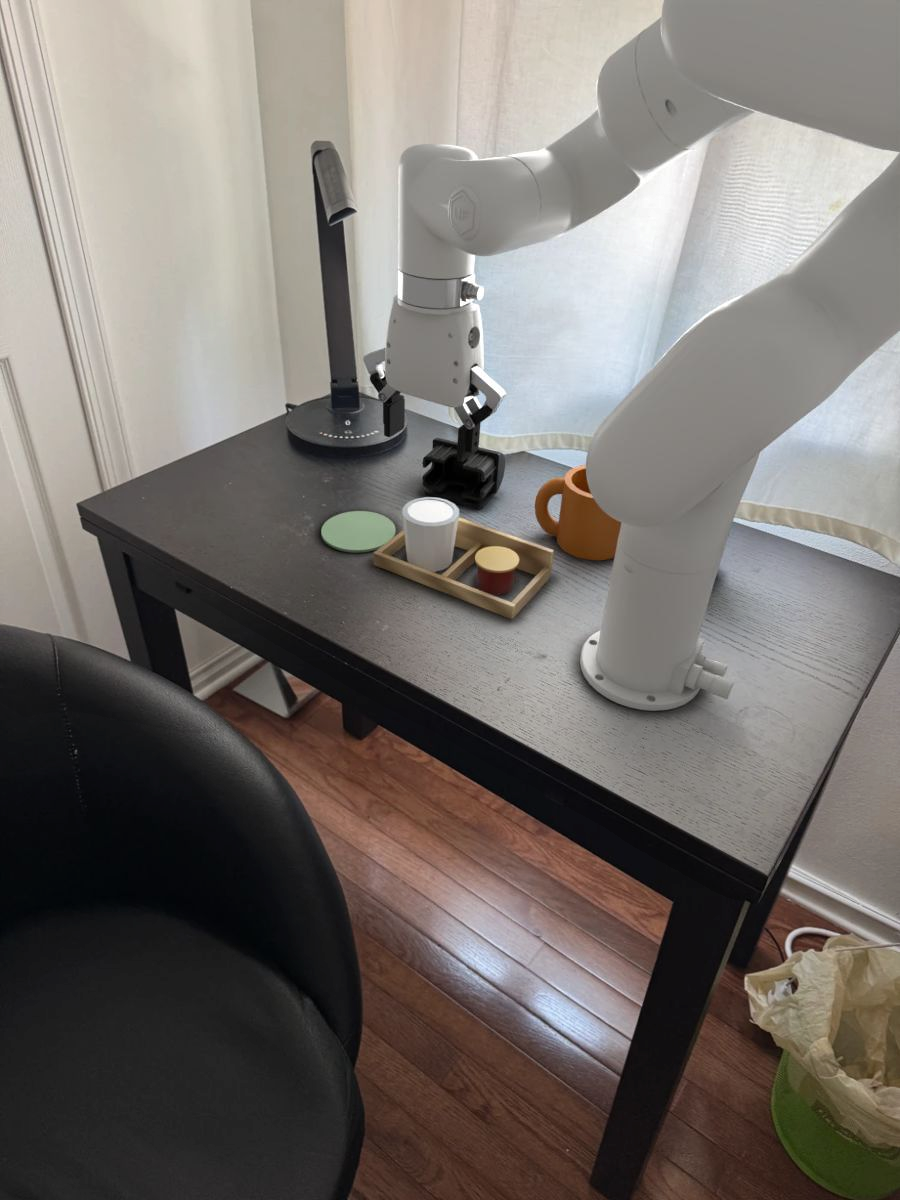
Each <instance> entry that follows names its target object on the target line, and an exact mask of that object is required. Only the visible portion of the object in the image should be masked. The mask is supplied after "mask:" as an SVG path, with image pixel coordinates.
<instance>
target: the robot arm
mask: <svg viewBox="0 0 900 1200" xmlns="http://www.w3.org/2000/svg"><path fill="white" fill-rule="evenodd" d="M595 88H596V89H595V97H596V105H597V107H596V109H595V110H594V111H593V112H592V113H591V114H590V115H589V116H587V117H585V119H584V120H582V121H581V122H579V124H577V125H576V126H575V127H573V128H571V129H570V130H569V131H568V132H566V133H565V134H563V135H562V136H560V137H559V138H557V139H556V140H554V141H553V142H552V143H550V144H549V145H547V146H545V147H543V148H542V149H539V150H537V151H527V152H520V153H519V152H518V153H515V154H507V155H501V156H497V157H489V158H488V157H487V158H480V159H479V158H478V155H477V154H476V153H475V152H474V151H472V150H470V149H469V148H466V147H463V146H459V145H453V144H445V143H422V144H414V145H411V146H409V147H407V148H405V150H403V151H402V153H401V155H400V157H399V160H398V161H399V162H398V175H397V176H398V177H397V178H398V182H397V183H398V184H397V185H398V188H397V189H398V190H397V192H398V196H397V200H398V202H397V218H398V219H397V293H396V294H395V295H394V296H393V298H392V302H391V306H390V310H389V315H388V321H387V329H386V338H385V347H383V348H380V349H377V350H375V351H374V350H373V351H371V352H369V353H367V354H365V355H364V356H363V359H362V360H363V363H364V365H365V368H366V370H367V373H368V374H369V381H370V383H371V384H372V386H373V387H374V389H375V390H376V392H377V398H378V400H379V401H380V402H381V403H382V424H383V436H384V437H387V438H391V437H394V436H395V435H396V434H398V433H399V432H401V431H403V430H404V429H405V421H406V420H405V417H406V416H405V411H406V409H405V408H406V399H405V395H408V396H411V397H414V398H416V399H417V398H418V399H421V400H425V401H427V402H431V403H433V404H438V405H441V406H445V407H448V408H453V409H454V411H455V413H456V415H457V416H458V418H459V420H460V421H461V423H462V425H461V426H459V427H458V429H457V442H458V444H457V459H458V460H459V461H462V462H463V461H465V460H466V459H467V458H469V457H470V456H471V455H473V454H474V453H475V452H476V451H477V450H478V447H480V437H481V436H480V435H481V423H483V421H485V420H486V419H488V418H490V416H492V415H493V414H494V413H496V412H497V410H498V408H499V407H500V406H501V404H502V402H504V400H505V398H506V395H507V392H506V391H505V389H504V388H503V387H502V386H501V385H499V384H498V383H497V382H496V381H495V380H493V379H492V378H491V377H490V376H489V375H488V374H487V373H486V372H484V371H485V369H484V367H485V365H484V364H485V361H484V360H485V359H484V358H485V356H484V355H485V353H484V352H485V351H484V350H485V349H484V329H483V322H482V314H481V309H480V305H479V304H477V303H474V302H473V301H474V300H475V301H481V300H482V299H483V297H484V293H485V289H484V287H483V286H482V285H478V284H477V283H476V274H475V263H476V262H475V261H476V256H477V257H491V256H497V255H500V254H501V255H502V254H504V253H507V252H512V251H515V250H518V249H521V248H524V247H528V246H533V245H536V244H539V243H545V242H548V241H553V240H554V239H557V238H560V237H562V236H563V235H566V234H567V233H569V232H571V231H573V230H575V229H577V228H578V227H580V226H582V225H583V224H585V223H587V222H589V221H590V220H592V219H594V218H595V217H598V215H600V214H602V213H604V212H606V211H607V210H609V209H610V208H612V207H614V206H615V205H617V204H619V203H620V202H621V201H623V200H624V199H626V198H627V197H628V196H630V195H632V194H633V193H635V191H637V190H638V189H639V188H640V187H642V186H643V185H644V184H645V183H647V182H648V181H650V180H652V179H653V177H654V176H656V174H657V173H658V172H659V171H660V170H662V169H664V168H665V167H666V166H668V165H670V164H671V163H673V162H675V161H676V160H677V159H679V158H682V156H685V155H686V154H688V153H689V152H691V151H693V150H694V149H696V148H698V147H700V146H701V145H702V144H704V143H706V142H708V141H709V140H711V139H712V138H714V137H716V136H717V135H719V134H720V133H722V132H725V130H727V129H729V128H731V127H733V126H734V125H735V124H737V123H739V122H740V121H742V120H744V119H746V118H748V117H749V116H751V115H753V114H755V113H757V114H761V115H765V116H768V117H771V118H774V119H777V120H781V121H785V122H788V123H791V124H795V125H798V126H801V127H804V128H807V129H810V130H813V131H816V132H820V133H822V134H826V135H829V136H831V137H836V138H839V139H842V140H845V141H848V142H851V143H855V144H858V145H862V146H865V147H869V148H873V149H877V150H882V151H890V152H896V153H898V154H897V155H896V156H895V158H894V159H893V160H892V161H891V162H890V163H889V165H888V166H887V167H886V168H885V169H884V170H883V171H882V172H881V173H880V174H879V175H878V177H876V178H875V179H874V180H873V181H872V182H871V183H870V184H869V185H867V186H866V187H865V188H864V189H863V190H861V192H860V193H859V194H858V195H856V196H855V197H854V199H852V200H851V201H850V202H849V203H848V204H847V205H846V206H845V207H844V208H843V209H842V210H841V211H840V212H839V214H838V215H837V216H836V217H835V218H834V219H833V221H832V222H831V223H830V224H829V225H828V226H827V228H826V229H825V230H824V231H823V232H822V233H821V234H820V235H818V237H817V238H816V239H815V240H814V241H813V242H812V243H811V244H810V245H809V246H807V248H806V249H804V251H802V252H801V254H799V256H797V258H795V259H794V260H793V261H792V262H791V263H790V264H789V265H788V266H787V267H786V268H784V269H783V270H782V271H781V272H780V273H778V275H776V276H775V277H774V278H772V279H770V280H769V281H767V282H765V283H763V284H761V285H759V286H757V287H755V288H753V289H752V290H749V291H748V292H746V293H743V294H741V295H739V296H737V297H734V298H732V299H731V300H729V301H727V302H725V303H723V304H721V305H719V306H717V307H716V308H714V309H712V310H710V311H709V312H708V313H706V314H705V315H704V316H702V318H700V319H698V321H697V322H696V323H694V324H693V325H692V326H690V328H688V329H687V330H686V331H685V332H684V333H682V335H681V336H680V337H679V338H678V339H677V340H676V341H675V342H674V343H673V344H672V345H671V346H670V347H669V349H668V350H667V351H666V352H665V353H664V354H663V355H662V356H661V357H660V358H659V360H658V361H657V362H655V364H654V365H653V366H652V367H651V368H650V369H649V371H647V372H646V374H645V375H644V376H643V377H642V378H641V379H640V381H638V382H637V384H636V385H634V387H633V388H632V389H631V390H630V391H629V392H628V394H626V396H625V397H623V399H622V400H621V401H620V402H619V403H618V404H617V405H616V406H615V407H614V408H613V410H612V411H611V412H610V413H609V414H608V415H607V416H606V418H604V419H603V421H602V422H601V424H600V425H599V426H598V428H597V429H596V431H595V433H594V434H593V436H592V438H591V441H590V443H589V446H588V449H587V453H586V459H585V465H586V477H587V483H588V486H589V489H590V492H591V494H592V496H593V498H594V500H595V502H596V503H597V504H598V506H599V507H600V508H601V509H602V510H603V511H604V512H605V513H606V514H608V515H609V516H610V517H612V518H613V519H615V520H617V521H619V522H622V523H621V528H620V533H619V537H618V542H617V547H616V552H615V557H613V563H612V569H611V572H610V573H611V574H610V579H609V584H608V590H607V594H606V595H607V596H606V601H605V605H604V610H603V614H602V615H603V616H602V621H601V625H600V626H601V627H600V629H599V630H598V631H596V632H594V633H592V634H591V635H590V636H589V637H588V638H587V639H586V640H585V642H584V643H583V645H582V648H581V652H580V657H579V664H580V670H581V672H582V674H583V677H584V678H585V680H586V681H587V683H588V684H589V685H590V686H591V687H592V688H593V689H594V690H595V691H596V692H597V693H599V694H600V695H602V696H603V697H604V698H607V699H608V700H609V701H612V702H614V703H616V704H619V705H621V706H624V707H627V708H630V709H636V710H640V711H651V712H657V711H668V710H672V709H676V708H679V707H681V706H684V705H686V704H688V703H689V702H691V701H692V700H693V699H694V698H695V697H696V696H697V695H698V693H699V691H700V690H704V691H707V692H709V694H712V695H714V696H716V697H719V698H722V699H724V700H728V699H729V697H730V695H731V692H732V691H733V686H734V683H735V680H732V679H730V678H727V677H725V675H726V673H727V670H728V668H729V665H728V664H726V663H723V662H722V661H719V660H713V659H711V658H709V657H707V654H705V653H703V652H702V650H703V647H704V644H705V639H704V638H702V637H700V633H701V631H702V626H703V622H704V619H705V616H706V612H707V609H708V605H709V601H710V599H711V595H712V593H713V592H712V591H713V588H714V586H715V585H714V584H715V582H716V578H717V575H718V573H717V571H719V569H718V567H719V568H720V565H721V562H722V559H723V555H724V551H725V549H726V545H727V542H728V538H729V535H730V532H731V528H732V525H733V522H734V520H735V516H736V514H737V511H738V509H739V505H740V503H741V500H742V498H743V496H744V493H745V492H746V489H747V486H748V484H749V482H750V481H751V478H752V475H753V473H754V471H755V468H756V465H757V463H758V459H759V457H760V454H761V452H762V451H764V450H765V449H766V448H767V447H768V446H769V445H771V444H772V443H773V442H774V441H776V440H777V439H778V438H779V437H781V436H782V435H783V434H784V433H785V432H787V431H788V430H789V429H791V428H792V427H793V426H794V425H796V424H797V423H798V422H799V421H800V420H802V419H803V418H805V417H806V416H807V415H808V414H810V413H811V412H813V411H814V410H815V409H816V408H818V407H819V406H820V405H822V403H824V402H825V401H826V400H828V398H829V397H831V395H833V394H834V393H835V392H836V391H837V390H838V389H839V387H841V385H842V384H843V383H844V382H845V381H846V380H848V378H849V377H850V376H851V375H852V374H853V372H855V371H856V370H857V369H858V368H859V367H860V366H861V365H862V364H863V363H864V362H865V361H866V360H867V359H869V358H870V357H871V356H872V355H873V354H874V353H875V352H876V351H877V350H879V349H880V348H881V347H882V346H883V345H885V344H886V343H887V342H888V341H890V339H892V338H894V336H895V335H897V334H898V333H899V332H900V0H663V3H662V8H661V16H660V17H659V18H658V19H656V20H655V21H654V22H653V23H651V24H650V25H649V26H648V27H646V28H644V29H643V30H642V31H640V32H639V33H638V34H637V35H635V36H634V37H633V38H631V39H630V40H629V41H628V42H626V43H625V44H624V45H622V46H621V47H619V48H618V49H617V50H616V51H614V52H612V54H610V56H609V57H608V58H606V59H605V61H604V62H603V64H602V66H601V68H600V69H599V72H598V76H597V80H596V85H595ZM383 362H384V369H383V364H382V363H383ZM401 393H402V394H401ZM404 394H405V395H404ZM481 394H483V395H484V396H485V401H484V403H483V405H481V403H480V402H479V400H478V398H477V397H478V396H479V395H481ZM720 561H721V562H720ZM719 564H720V565H719ZM716 574H717V575H716Z"/></svg>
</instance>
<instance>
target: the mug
mask: <svg viewBox="0 0 900 1200" xmlns="http://www.w3.org/2000/svg"><path fill="white" fill-rule="evenodd" d="M556 495H561V501H560V509H559V516H558V521H557V520H556V519H554V518H553V517H552V516H551V514H550V511H549V503H550V501H551V499H552V498H553V497H554V496H556ZM534 514H535V518H536V520H537V522H538V525H539V526H540V528H541V529H542V530H543V531H544V532H545V533H546V534H548V535H550V536H551V537H553V538H556V542H557V544H558V546H559V547H560V548H561V550H563V551H564V552H566V553H567V554H568V555H571V556H573V557H575V558H578V559H582V560H586V561H606V560H611V559H614V558H615V552H616V547H617V542H618V537H619V533H620V528H621V523H622V522H619V521H617V520H615V519H613V518H612V517H610V516H609V515H608V514H606V513H605V512H604V511H603V510H602V509H601V508H600V507H599V506H598V504H597V503H596V502H595V500H594V498H593V496H592V494H591V492H590V489H589V486H588V483H587V477H586V464H583V465H578V466H575V467H573V468H570V470H568V471H567V472H565V475H564V477H555V478H552V479H548V481H546V482H545V483H543V485H542V486H541V487H540V488H539V490H538V492H537V494H536V496H535V500H534Z"/></svg>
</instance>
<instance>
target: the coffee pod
mask: <svg viewBox="0 0 900 1200" xmlns="http://www.w3.org/2000/svg"><path fill="white" fill-rule="evenodd" d="M474 563H475V564H476V566H477V570H476V586H477V587H478V589H479V590H480V591H483V592H486V593H488V594H491V595H503V594H507V593H509V592H510V591H511V590H512V589H513V587H514V583H515V573H516V569H517V568H516V567H517V566H518V564H519V557H518V555H517V554H516V553H515V552H514V551H512V550H511V549H508V548H505V547H500V546H490V547H485V548H483V549H481V550H479V551H478V552H477V553H476V555H475V562H474Z"/></svg>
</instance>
